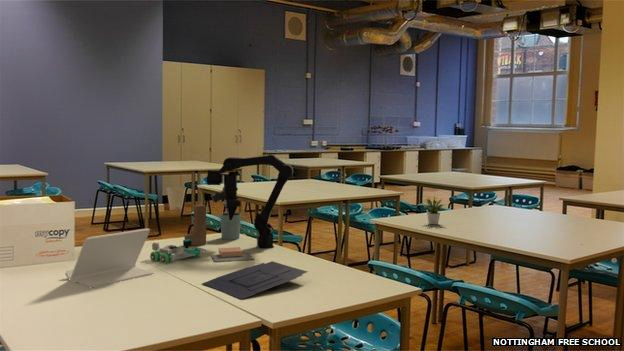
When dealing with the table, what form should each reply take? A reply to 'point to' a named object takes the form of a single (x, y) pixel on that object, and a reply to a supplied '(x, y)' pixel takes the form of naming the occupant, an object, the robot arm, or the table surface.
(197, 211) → the wooden block
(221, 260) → the mat
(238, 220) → the drinking glass
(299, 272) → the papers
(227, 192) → the robot arm
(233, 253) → the tile
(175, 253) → the robot kit
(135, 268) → the tablet stand
